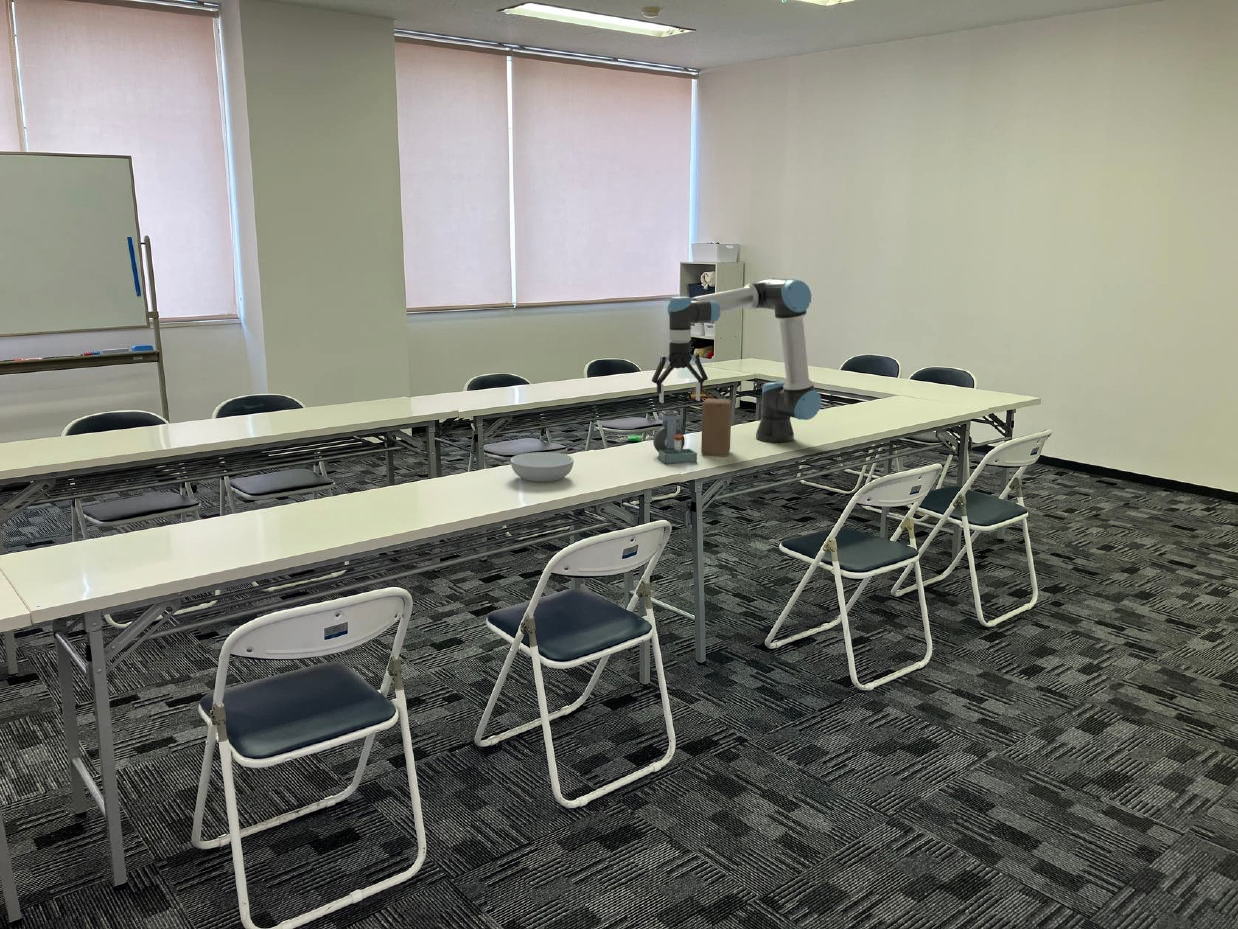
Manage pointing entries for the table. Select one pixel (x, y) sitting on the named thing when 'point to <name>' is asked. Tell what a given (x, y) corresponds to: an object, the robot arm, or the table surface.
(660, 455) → the tray
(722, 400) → the wooden block
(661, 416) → the wheel stand
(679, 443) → the stop pin
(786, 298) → the robot arm
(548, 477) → the serving bowl
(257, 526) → the table surface
